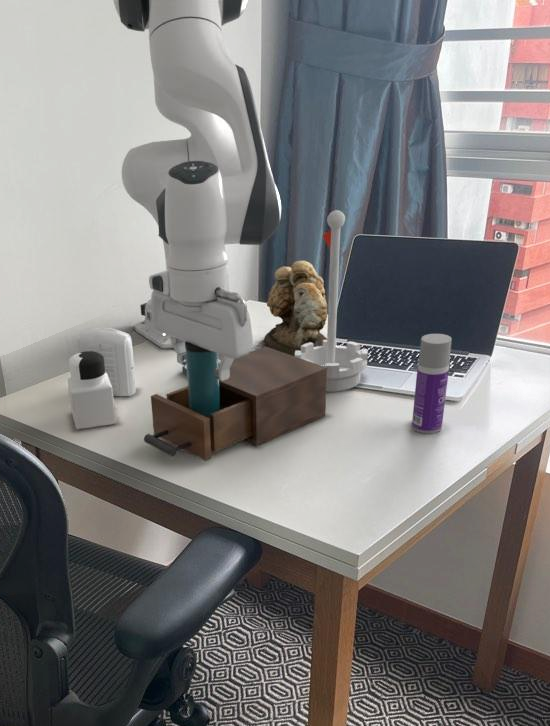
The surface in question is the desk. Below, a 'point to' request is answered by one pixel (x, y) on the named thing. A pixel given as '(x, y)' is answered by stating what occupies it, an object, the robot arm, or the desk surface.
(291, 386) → the cabinet
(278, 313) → the owl figurine
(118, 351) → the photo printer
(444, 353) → the container
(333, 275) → the flag stand
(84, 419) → the medicine bottle
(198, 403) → the tin
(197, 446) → the drawer
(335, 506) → the desk surface
